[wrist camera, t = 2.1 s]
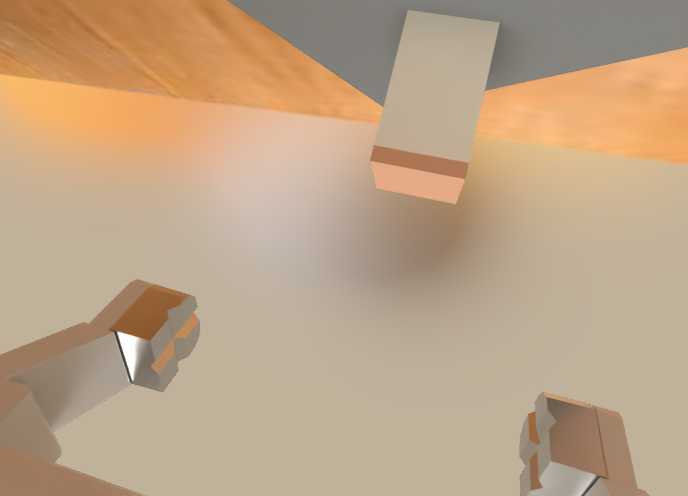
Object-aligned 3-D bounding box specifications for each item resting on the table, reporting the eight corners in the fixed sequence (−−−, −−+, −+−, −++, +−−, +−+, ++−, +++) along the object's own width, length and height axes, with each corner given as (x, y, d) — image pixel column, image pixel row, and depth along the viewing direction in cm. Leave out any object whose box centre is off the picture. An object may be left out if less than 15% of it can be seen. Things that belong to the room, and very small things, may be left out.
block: (408, 59, 28) (376, 188, 27) (407, 9, 24) (370, 160, 23) (485, 71, 27) (455, 204, 26) (499, 22, 23) (464, 179, 22)
